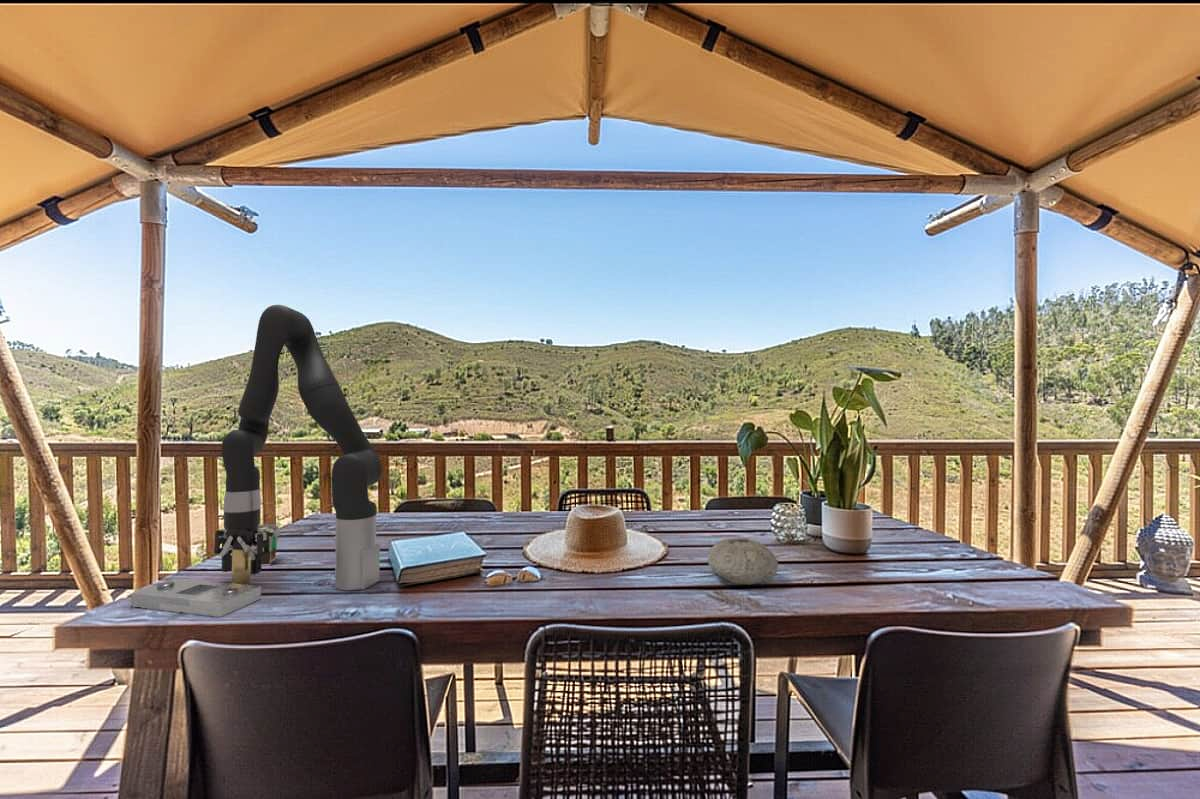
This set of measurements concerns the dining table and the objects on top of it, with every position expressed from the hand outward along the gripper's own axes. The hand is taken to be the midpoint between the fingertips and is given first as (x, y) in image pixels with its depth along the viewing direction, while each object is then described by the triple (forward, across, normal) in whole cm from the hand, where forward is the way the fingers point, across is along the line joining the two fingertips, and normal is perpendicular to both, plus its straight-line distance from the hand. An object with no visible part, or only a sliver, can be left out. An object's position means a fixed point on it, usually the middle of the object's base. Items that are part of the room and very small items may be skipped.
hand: (241, 572), depth 125 cm
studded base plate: (+3, -1, +12) cm, 13 cm away
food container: (+3, +10, -16) cm, 19 cm away
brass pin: (+3, 0, 0) cm, 3 cm away
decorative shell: (+2, -124, -32) cm, 128 cm away
